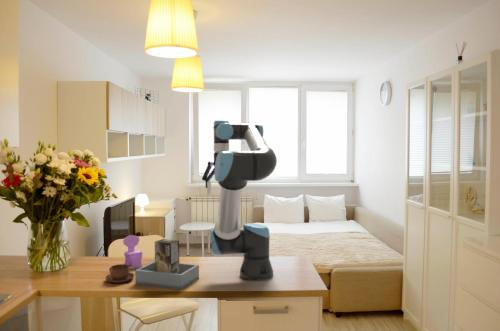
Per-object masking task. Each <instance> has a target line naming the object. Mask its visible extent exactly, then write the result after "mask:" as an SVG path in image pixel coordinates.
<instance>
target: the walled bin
mask: <svg viewBox="0 0 500 331" xmlns="http://www.w3.org/2000/svg"><path fill="white" fill-rule="evenodd" d="M179 269H180V274H174V273H165V272H155V260H154V261H152V262H150V263H148V264H146V265H144V266H143V265H142V267H140V268H136V269H134V270H135V272H134V273H135V274H134V277H135V281H134V282H135V283H134V284H135V285H137V286H138V285H140V286H147V287H158V288H165V289H172V290H173V289H175V290H183V289H185V288H186V287H188V286H190V285H191V284H192V283H194V282H196V281H198V280H199V279H200V278H199V277H200V265H199V264H194V263H193V264H192V263H183V262H179Z"/></svg>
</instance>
